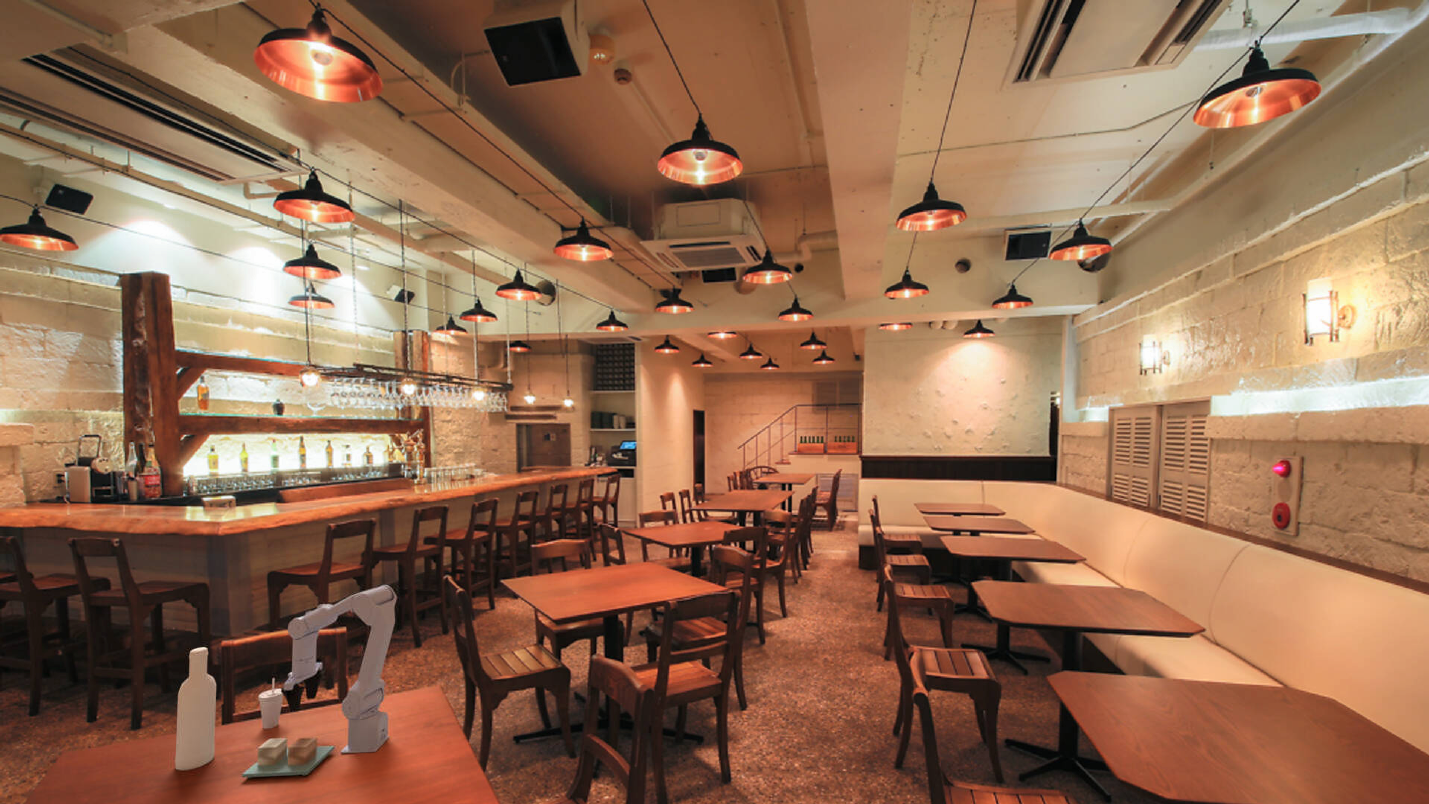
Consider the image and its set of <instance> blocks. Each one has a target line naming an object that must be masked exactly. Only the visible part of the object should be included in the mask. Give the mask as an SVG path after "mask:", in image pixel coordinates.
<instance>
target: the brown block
mask: <svg viewBox="0 0 1429 804" xmlns="http://www.w3.org/2000/svg"><path fill="white" fill-rule="evenodd" d="M317 740H318V739H317V737H305V738H304V737H301V738H298V739H296V741H294V742H293V743H292V744H291V745H289V746H287V748H288V765H303V764H307V763H308V762H309V761H310V760H311V759H312V758H313V757H314V756H316V749H317V747H318V746H317V742H318V741H317Z"/></svg>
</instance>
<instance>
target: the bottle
mask: <svg viewBox="0 0 1429 804" xmlns="http://www.w3.org/2000/svg"><path fill="white" fill-rule="evenodd" d="M208 656H209V651H208V648H207V647H197V648H194V649H191V650H190V652H189V656H188V659H189V666H188V667H189V668H188V669H189V671H188V672H189V673H188V677H187V679H185V680H184V681H183V682H182V683H181V686H180V688H179V691H178V693H177V711H176V712H177V717H176V741H175V742H176V745H175V759H174V760H175V761H174V763H175V769H176V771H177V770H178V771H189V770H194V769H197V768H201V767H202V766H205V765H206V764H209V763H210V762H211V761H212V760H213V759H214V757H215V747H216V746H215V738H216V737H215V733H216V732H215V730H216V729H215V728H216V704H217V703H216V701H217V699H216V697H217V682H216V680H215V678H214V677H213V676H212V675H210V674H209V673H208Z"/></svg>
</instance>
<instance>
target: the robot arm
mask: <svg viewBox="0 0 1429 804" xmlns="http://www.w3.org/2000/svg"><path fill="white" fill-rule="evenodd" d="M397 599H398V597H397V595H396V593H395V591H394V589H393V588H392V587H391V586H390V585H387V584H383V585H380V586H378V587H374V588H370V589H366V590H363V591H360V592H357V593H355V594H353V595H352V594H351V595H350V596H347V597H346V598H344V599H342V600H340V601H338V602H337V603H335V604H330V603H327V604H325V603H323V604H319V605H317V608H316V609H314V610H309V611H306V612H305V615H303V616H299V617H294V618H293V619H292V620H290V622H289V623H288V626H287V632H288V635H289V636H290V637H291V638H292V652H291V653H292V654H291V655H292V658H291V659H292V662H291V666H292V667H291V672H289V673H288V674H287V677H288V679H287V680H286V681H285V682H284V683H283V687H281V688H280V689H281V692H282V694H283V697H285V700H286V702H287V705H288V708H289V711H290V712H292V713H293V712H299V711H300V708H301V704H302V696H303V693H304V691H305V695H306V696H305V697H306V700H315V699H316V697H317V693H318V692H319V691H318V690H319V686H320V683H321V681H322V680H323V678H324V676H325V673H326V671H325V670H322V669H323V662H317V639H318V637H319V635H320V634H319V632H320V630H321V629H323V628H325V627H328V626H330V625H331V624H333V623H335V622H336V621H337V619H338V616H340V615H342V614H344V613H347V612H349V611H350V612H351V613H354V614H355V615H356V616H357V617H358V618H359V619H361V621H362V622H364V624H366V626H369V627H370V633H369V637H368V639H367V643H366V647H365V650H364V655H363V658H362V662H361V666H360V669H359V672H358V677H357V680H356V681H355V683H354V684H353V685H352V686H351V687H350V689H349V690H348V691H347V695H346V697H344V699H343V700H342V702H341V712H342V714H343V715H344V717H345V718H346V719H347V720H348V721H347V722H348V725H347V727H348V728H347V745H346V746H345V747H343V749H341V751H340V754H354V753H358V754H359V753H373V752H374V753H376V752H377V751H378V749H380V748H381V747H382V746H383V744H384V743H385V742H386V741H387V740H388V739H389V737H390V735H389V715H388V713H387V711H381V710H379V709H381V704H382V703H383V702H384V699H385V695H386V694H385V693H386V692H385V687H386V682H385V681H384V680H383V679H382V678H381V676H382V671H383V669H384V664H385V661H386V656H387V653H388V648H389V647H390V646H389V645H390V642H391V639H392V635H393V631H394V628H395V624H396V613H395V606H396V603H397ZM301 682H303V683H304V686H303V685H302V686H301V685H299V684H300V683H301Z"/></svg>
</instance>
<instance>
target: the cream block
mask: <svg viewBox="0 0 1429 804" xmlns="http://www.w3.org/2000/svg"><path fill="white" fill-rule="evenodd" d="M287 748H288V737H283V738H282V737H280V738H279V737H278V738H269V739H268V740H266V741H265V742H263V743H262V744H261V745H260V746H258V747H257V762H258V765H276V764H277V763H278V762H279V761H281V760H282V759H283V758H284V757H285V756H286V755H287Z"/></svg>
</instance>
